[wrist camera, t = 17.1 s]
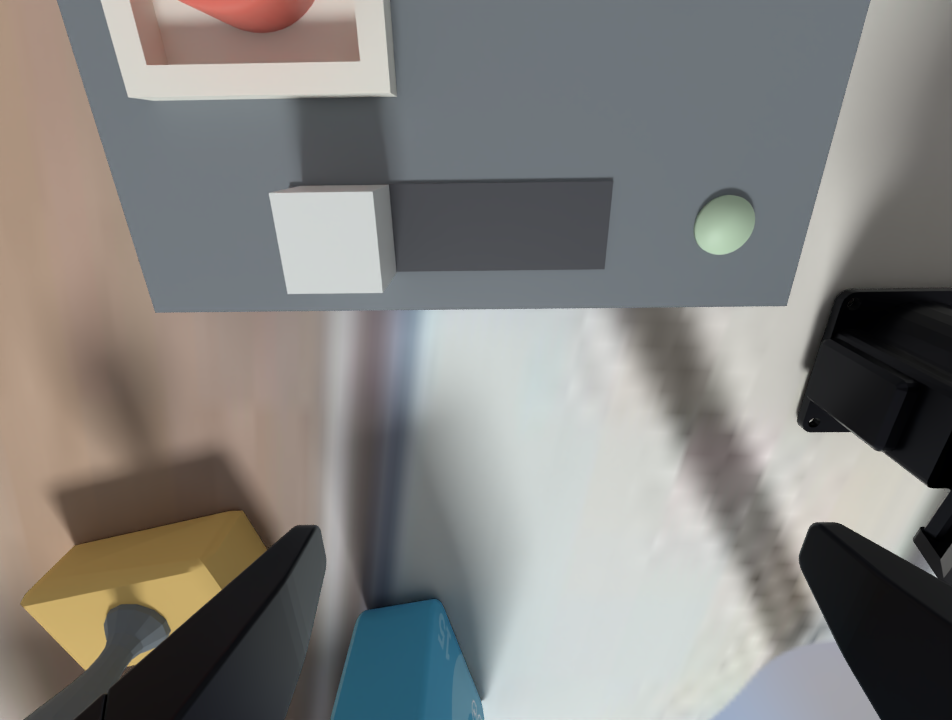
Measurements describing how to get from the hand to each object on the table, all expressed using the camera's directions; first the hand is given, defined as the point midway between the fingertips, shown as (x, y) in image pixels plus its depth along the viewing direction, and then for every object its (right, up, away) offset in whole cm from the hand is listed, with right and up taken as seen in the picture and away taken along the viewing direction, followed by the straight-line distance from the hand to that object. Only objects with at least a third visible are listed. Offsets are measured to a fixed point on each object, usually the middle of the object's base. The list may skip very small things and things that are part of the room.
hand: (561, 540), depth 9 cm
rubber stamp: (-18, -8, +17) cm, 26 cm away
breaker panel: (-2, +14, +7) cm, 15 cm away
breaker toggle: (-6, +8, +8) cm, 13 cm away
